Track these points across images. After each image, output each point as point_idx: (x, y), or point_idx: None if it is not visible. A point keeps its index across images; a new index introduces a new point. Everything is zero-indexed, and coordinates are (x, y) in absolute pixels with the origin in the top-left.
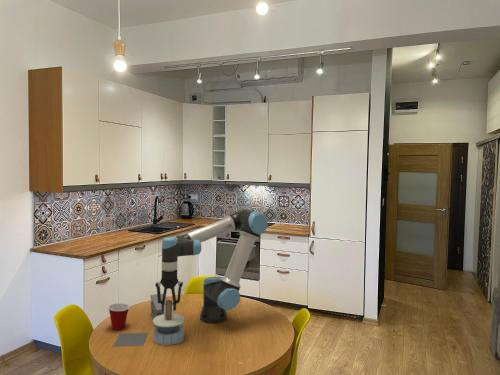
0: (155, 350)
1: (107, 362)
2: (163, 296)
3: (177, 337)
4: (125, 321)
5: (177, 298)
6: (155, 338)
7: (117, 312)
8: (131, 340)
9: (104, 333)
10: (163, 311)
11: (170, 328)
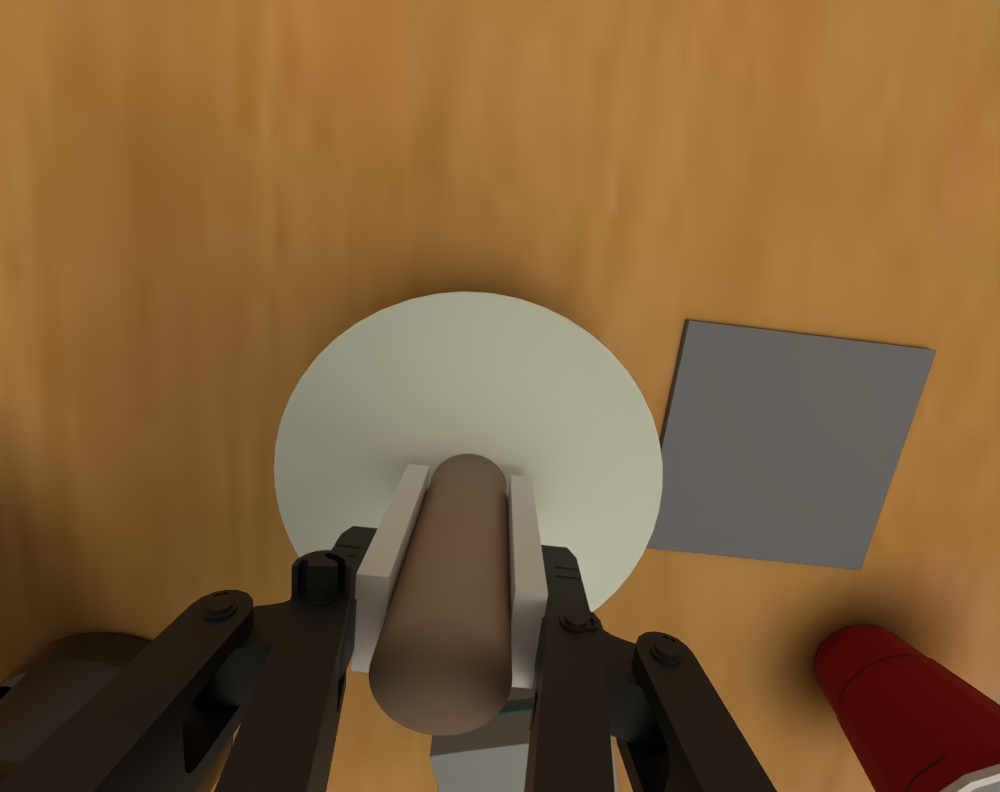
0: (588, 228)
1: (991, 78)
2: (593, 779)
3: None
4: (845, 699)
5: (190, 678)
6: None
7: None
8: (779, 431)
9: (963, 600)
10: (529, 719)
11: None
